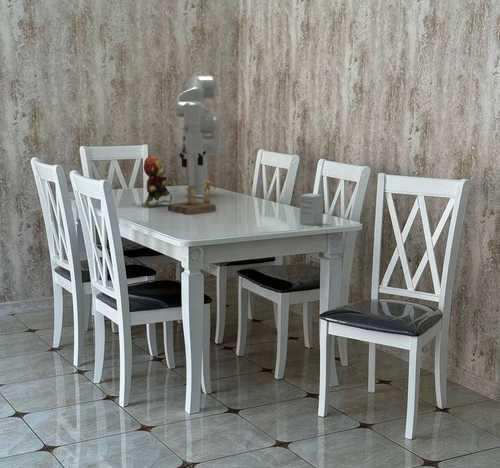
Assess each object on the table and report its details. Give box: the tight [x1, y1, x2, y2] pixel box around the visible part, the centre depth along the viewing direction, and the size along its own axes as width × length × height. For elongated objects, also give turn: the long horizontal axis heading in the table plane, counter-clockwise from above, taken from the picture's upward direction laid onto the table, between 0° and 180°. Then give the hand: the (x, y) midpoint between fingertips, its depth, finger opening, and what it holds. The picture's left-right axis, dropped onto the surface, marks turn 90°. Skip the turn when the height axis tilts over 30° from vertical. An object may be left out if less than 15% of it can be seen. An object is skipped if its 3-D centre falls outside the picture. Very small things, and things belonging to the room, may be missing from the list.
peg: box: [187, 184, 197, 206], centre depth 386 cm, size 4×4×12 cm
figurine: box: [200, 178, 217, 204], centre depth 411 cm, size 8×6×12 cm
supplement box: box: [299, 192, 324, 226], centre depth 353 cm, size 7×7×13 cm
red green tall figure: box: [143, 155, 172, 208], centre depth 400 cm, size 15×17×25 cm
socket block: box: [167, 201, 217, 216], centre depth 387 cm, size 16×16×3 cm
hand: (192, 166), depth 385 cm, fingers open, 9 cm apart
